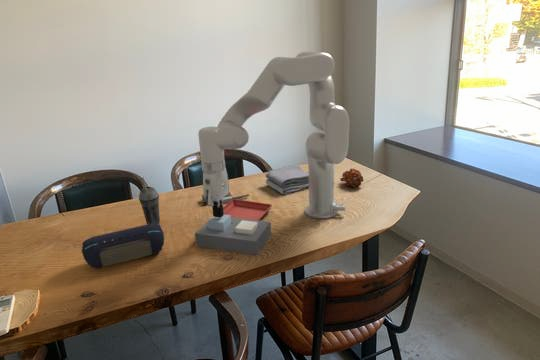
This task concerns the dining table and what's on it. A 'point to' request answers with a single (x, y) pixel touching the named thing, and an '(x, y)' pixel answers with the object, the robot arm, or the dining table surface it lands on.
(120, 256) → the portable speaker
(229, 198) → the walkie-talkie
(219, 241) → the console
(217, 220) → the blue key
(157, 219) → the beverage cup
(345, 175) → the pine cone
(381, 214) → the dining table surface
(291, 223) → the dining table surface
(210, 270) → the dining table surface
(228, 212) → the plant saucer
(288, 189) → the towel
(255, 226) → the white key
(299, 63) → the robot arm
